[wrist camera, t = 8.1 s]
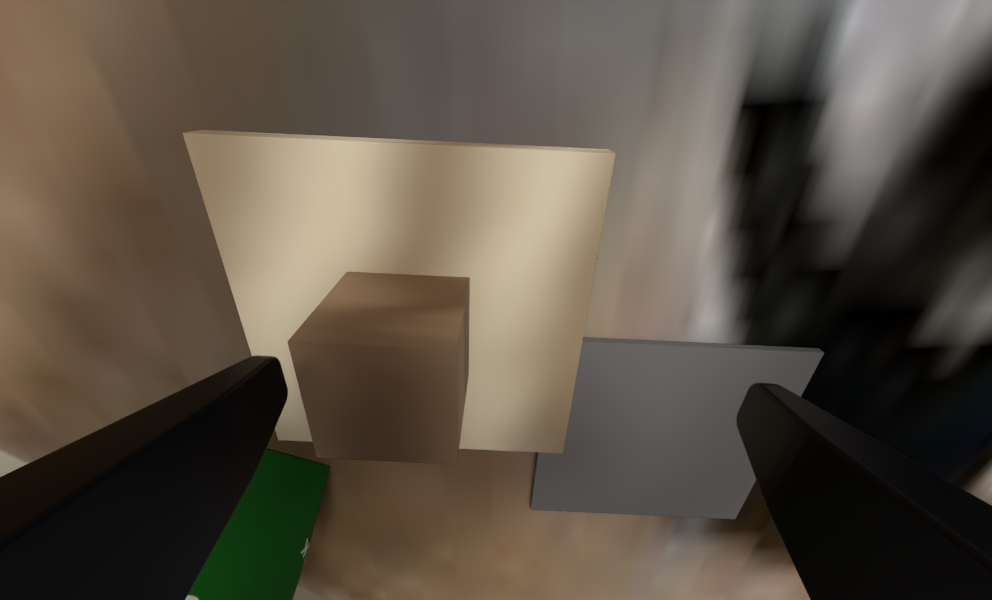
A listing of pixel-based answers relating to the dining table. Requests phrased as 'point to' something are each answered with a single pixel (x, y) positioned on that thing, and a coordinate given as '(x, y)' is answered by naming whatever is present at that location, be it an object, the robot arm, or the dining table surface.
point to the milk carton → (266, 533)
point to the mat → (662, 427)
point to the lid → (410, 284)
